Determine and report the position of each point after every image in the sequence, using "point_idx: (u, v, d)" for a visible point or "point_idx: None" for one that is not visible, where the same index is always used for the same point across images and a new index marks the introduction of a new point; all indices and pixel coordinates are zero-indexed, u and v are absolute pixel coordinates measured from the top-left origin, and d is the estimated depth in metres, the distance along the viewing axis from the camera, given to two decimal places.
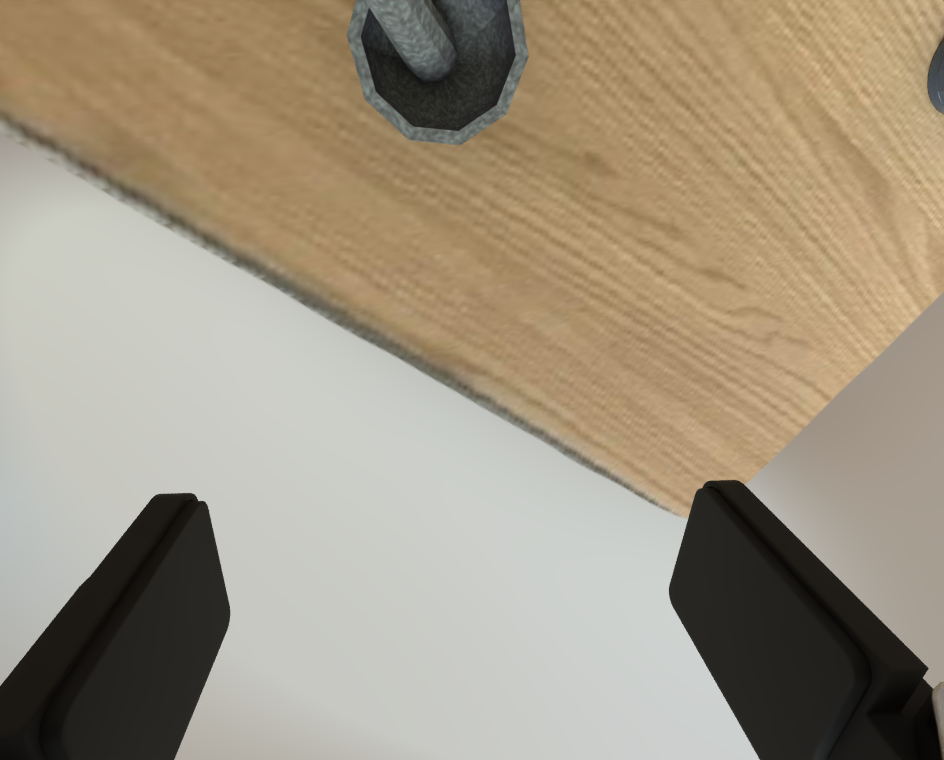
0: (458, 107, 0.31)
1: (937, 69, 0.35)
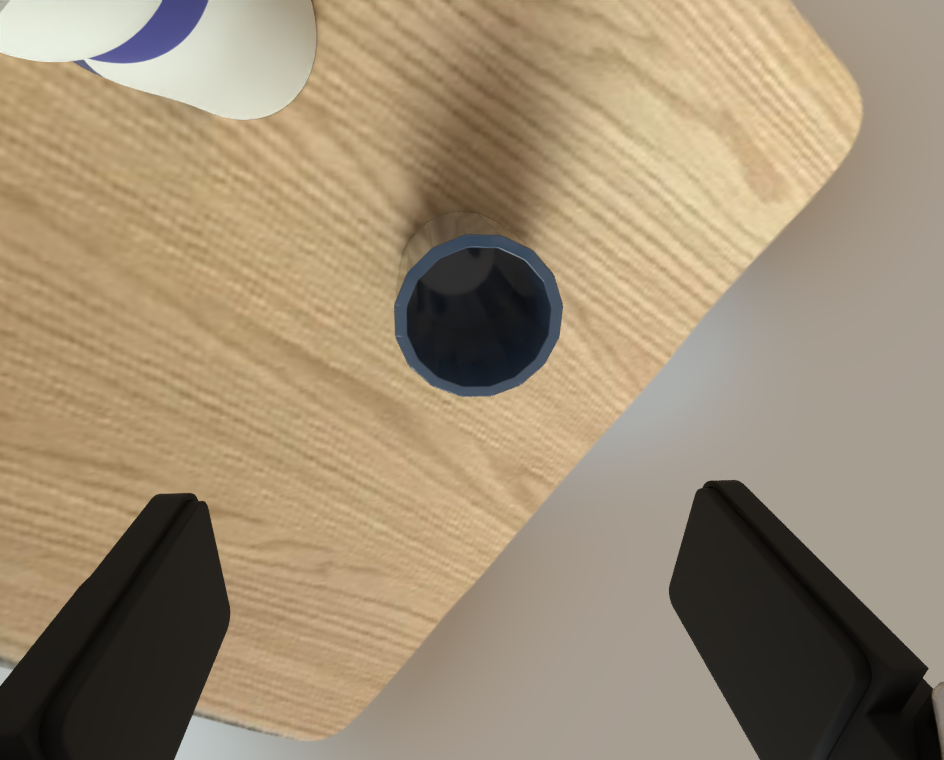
0: None
1: None
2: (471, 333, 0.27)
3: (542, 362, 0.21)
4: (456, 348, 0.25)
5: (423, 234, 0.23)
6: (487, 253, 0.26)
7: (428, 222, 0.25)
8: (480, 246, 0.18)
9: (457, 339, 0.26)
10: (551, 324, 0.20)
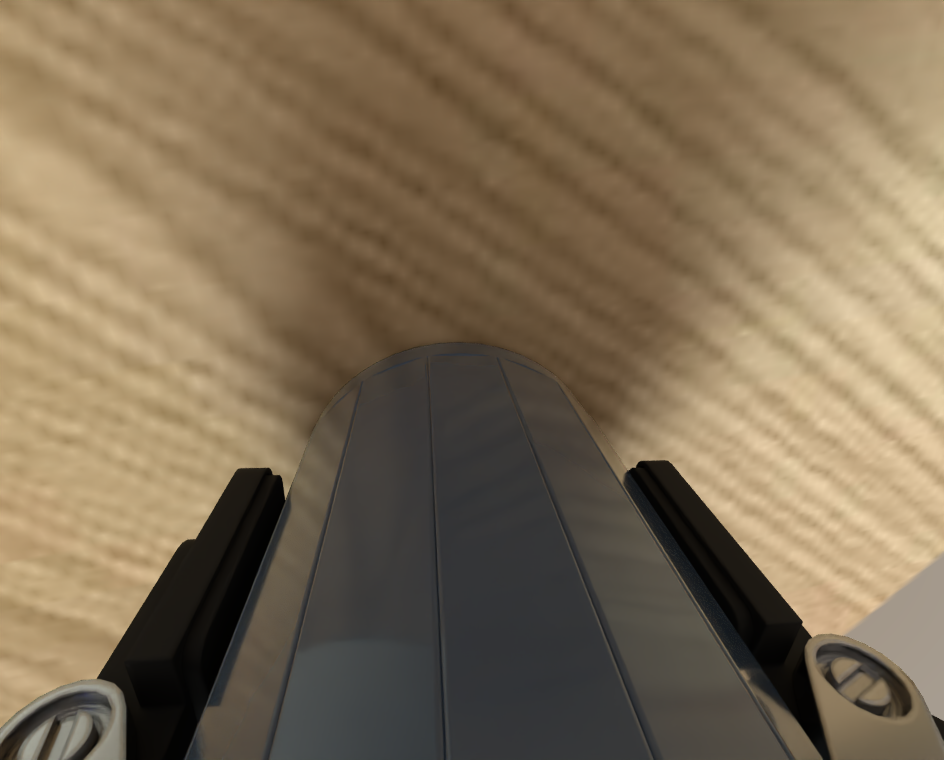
0: None
1: None
2: None
3: None
4: None
5: (327, 466, 0.07)
6: None
7: (364, 382, 0.09)
8: None
9: None
10: None
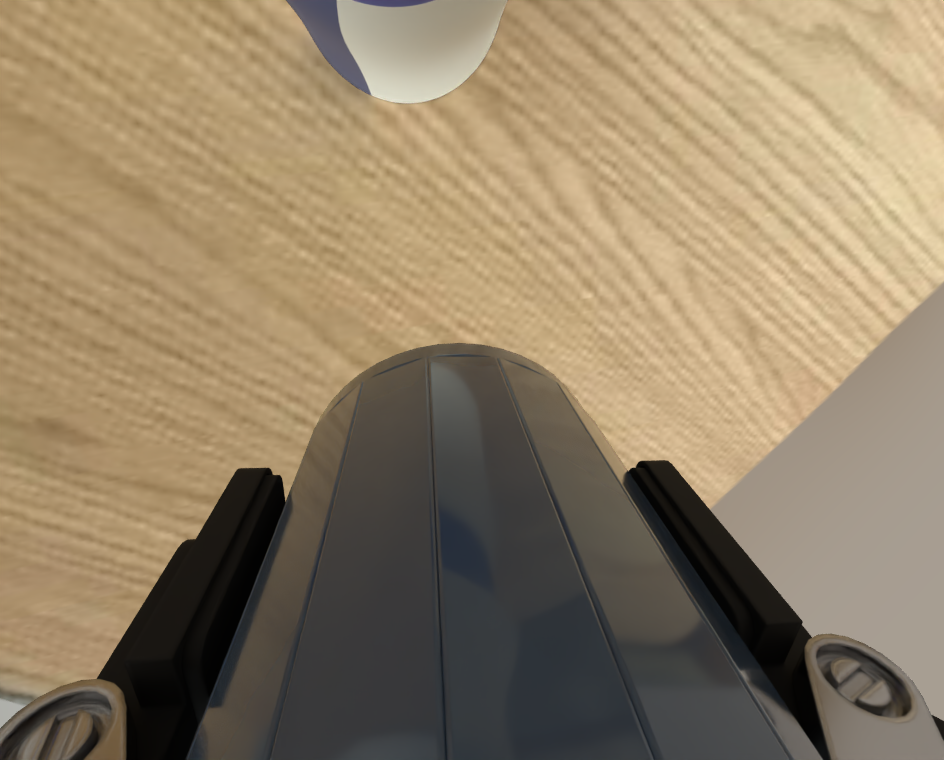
0: None
1: None
2: None
3: None
4: None
5: (328, 467, 0.07)
6: None
7: (364, 383, 0.09)
8: None
9: None
10: None
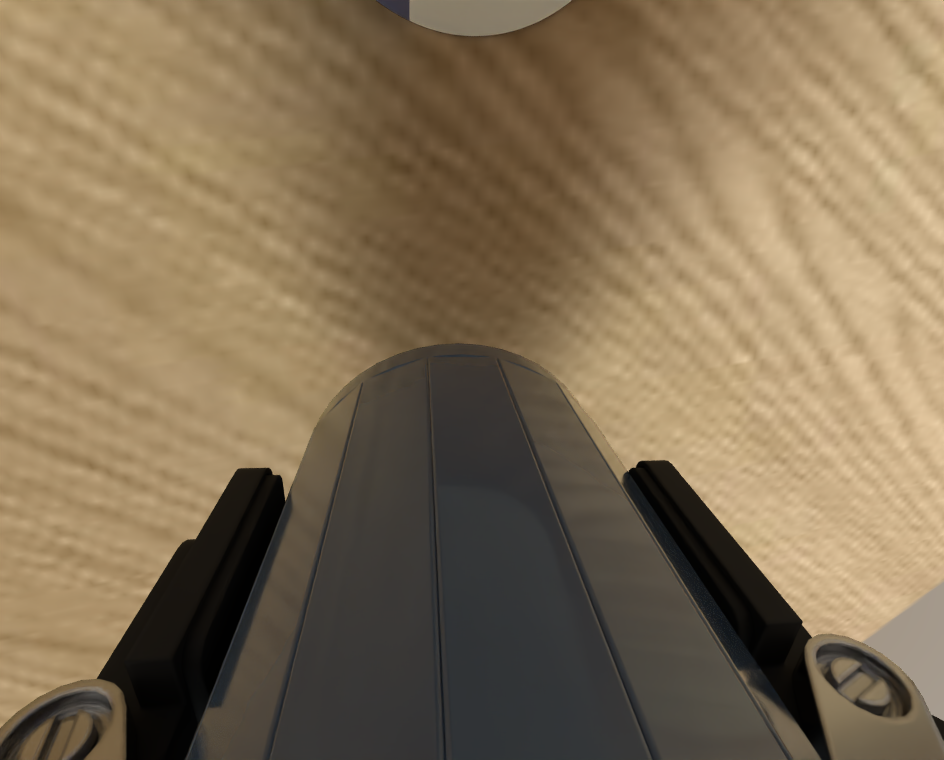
0: None
1: None
2: None
3: None
4: None
5: (327, 468, 0.07)
6: None
7: (364, 383, 0.09)
8: None
9: None
10: None
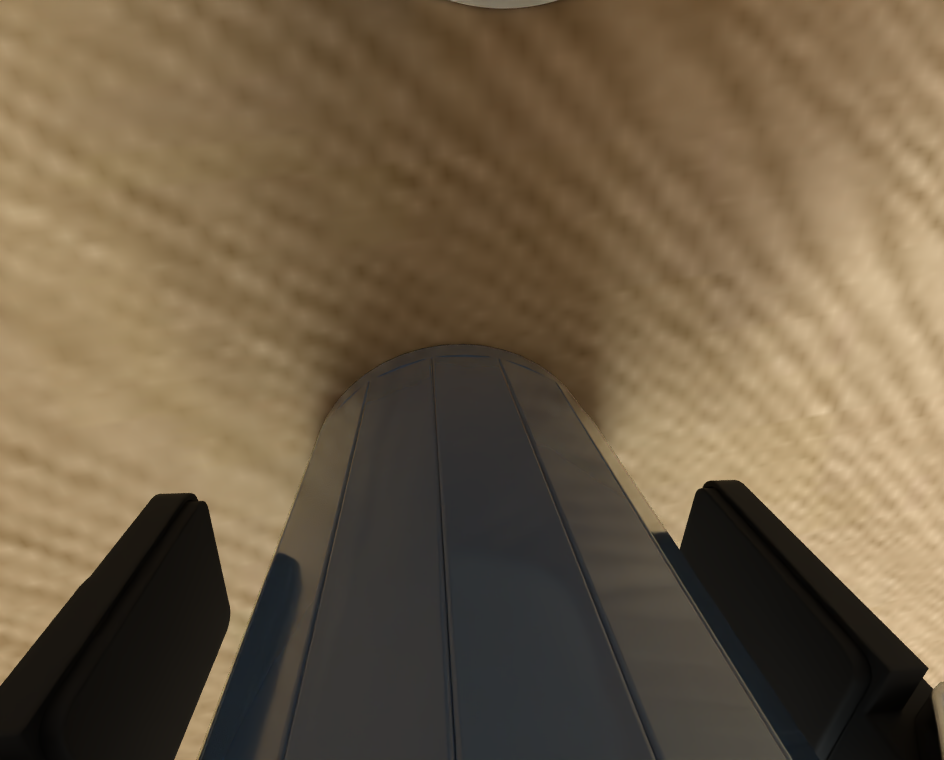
0: None
1: None
2: None
3: None
4: None
5: (337, 462, 0.08)
6: None
7: (371, 382, 0.10)
8: None
9: None
10: None
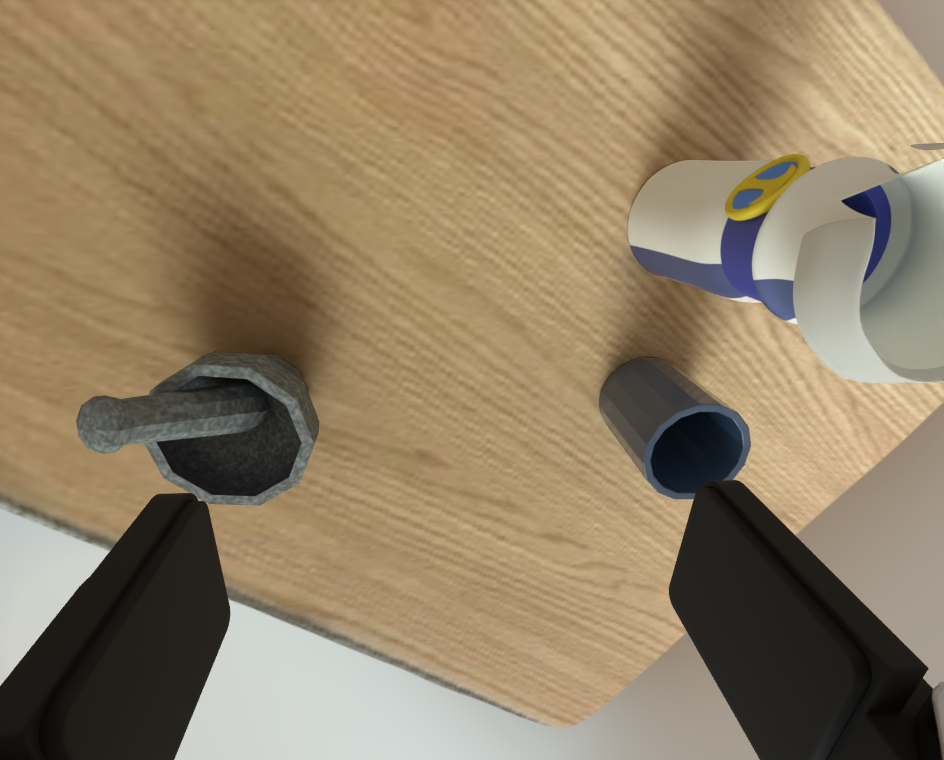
0: (276, 441, 0.34)
1: (601, 407, 0.37)
2: None
3: (730, 479, 0.31)
4: None
5: (639, 382, 0.34)
6: None
7: (630, 366, 0.36)
8: (707, 411, 0.29)
9: None
10: (741, 456, 0.31)
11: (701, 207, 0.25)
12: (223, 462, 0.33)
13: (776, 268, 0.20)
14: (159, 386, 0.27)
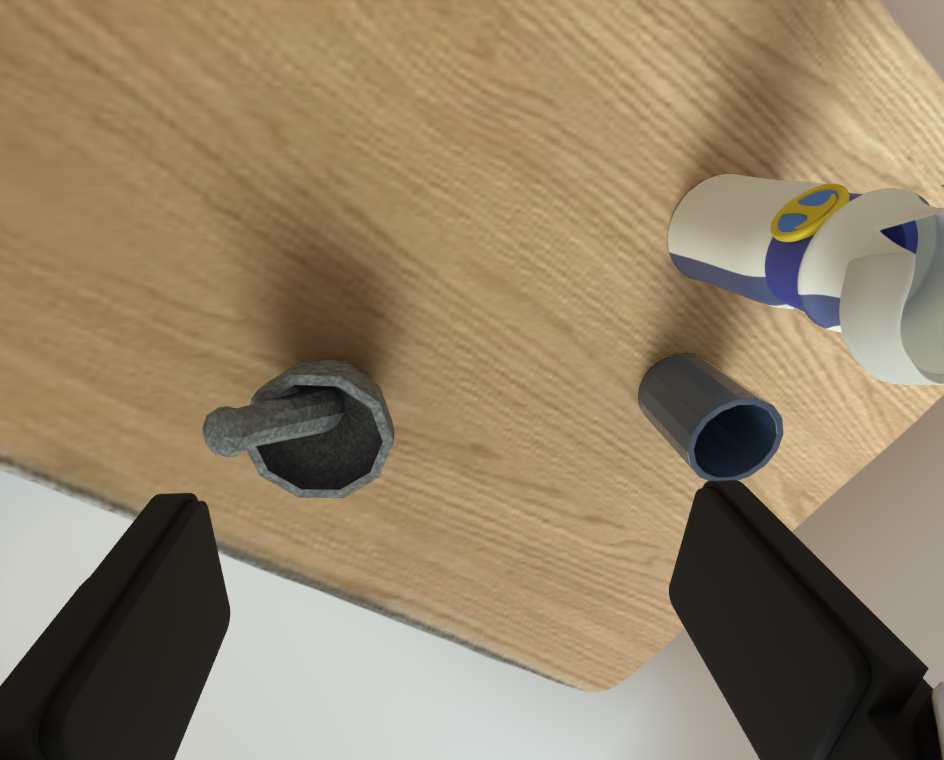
0: (350, 439, 0.37)
1: (641, 400, 0.41)
2: None
3: (764, 463, 0.35)
4: None
5: (678, 378, 0.37)
6: None
7: (668, 363, 0.39)
8: (746, 404, 0.33)
9: None
10: (774, 443, 0.34)
11: (745, 225, 0.28)
12: (305, 459, 0.36)
13: (820, 285, 0.23)
14: (259, 395, 0.31)
